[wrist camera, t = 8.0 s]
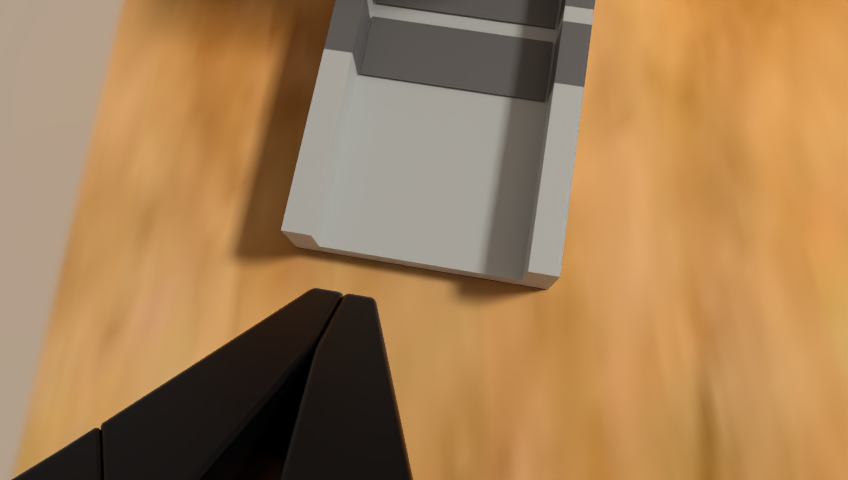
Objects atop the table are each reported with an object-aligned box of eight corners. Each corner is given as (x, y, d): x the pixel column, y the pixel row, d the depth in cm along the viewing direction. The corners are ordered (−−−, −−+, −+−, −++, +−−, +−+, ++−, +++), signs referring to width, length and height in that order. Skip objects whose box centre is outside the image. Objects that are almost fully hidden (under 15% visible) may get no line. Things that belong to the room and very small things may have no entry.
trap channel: (547, 289, 22) (559, 277, 20) (296, 247, 23) (280, 230, 21) (601, -118, 26) (616, -166, 24) (386, -146, 27) (381, -195, 25)
